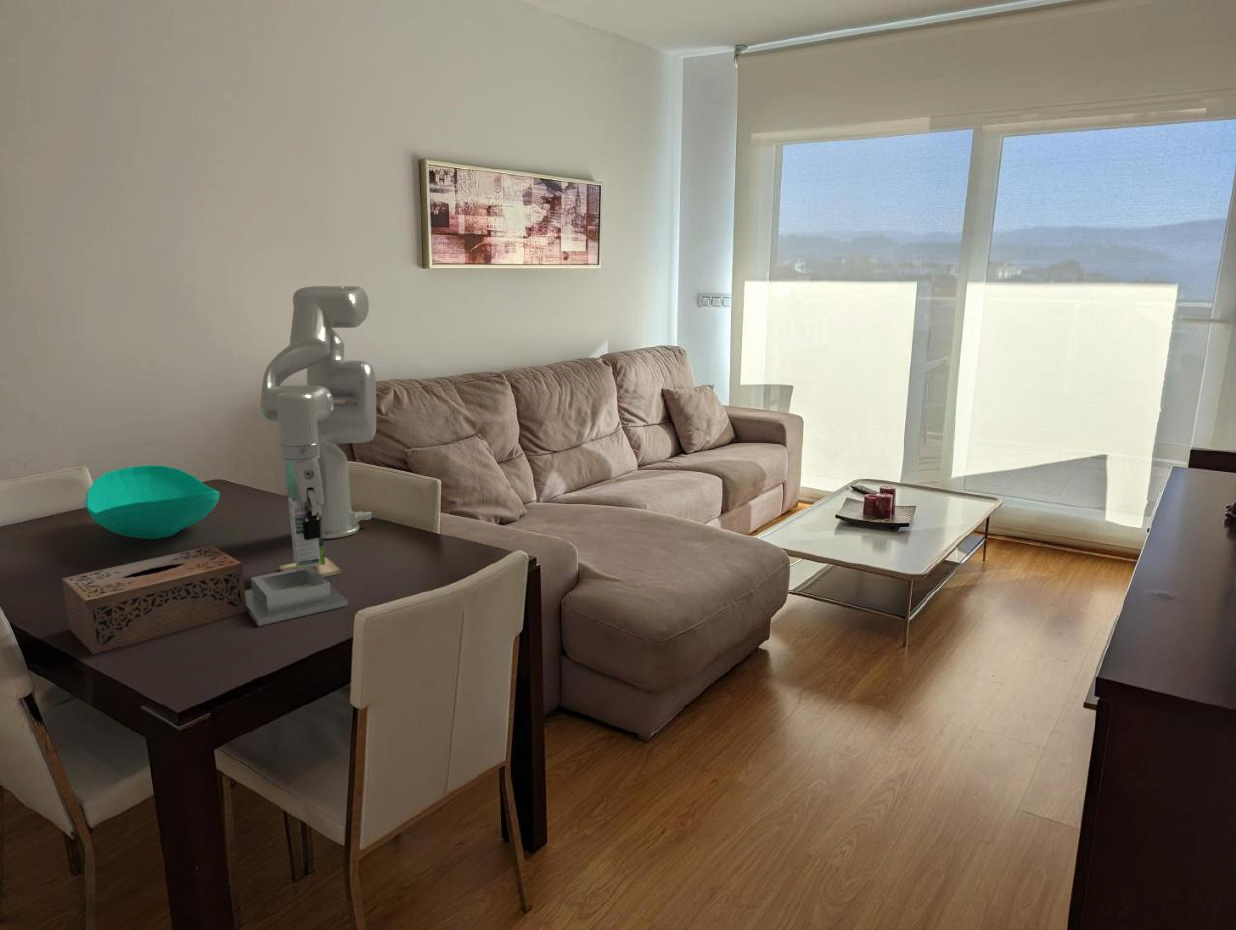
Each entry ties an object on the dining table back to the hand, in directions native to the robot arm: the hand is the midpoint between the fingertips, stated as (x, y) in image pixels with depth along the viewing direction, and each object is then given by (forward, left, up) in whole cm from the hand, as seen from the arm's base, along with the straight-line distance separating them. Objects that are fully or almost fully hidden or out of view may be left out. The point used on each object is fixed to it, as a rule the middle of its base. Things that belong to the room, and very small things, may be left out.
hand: (307, 533), depth 181 cm
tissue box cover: (+30, +10, -9) cm, 33 cm away
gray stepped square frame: (+8, +15, -8) cm, 19 cm away
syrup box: (0, 0, -7) cm, 7 cm away
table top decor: (+22, -47, -9) cm, 53 cm away
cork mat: (0, 0, -9) cm, 9 cm away
